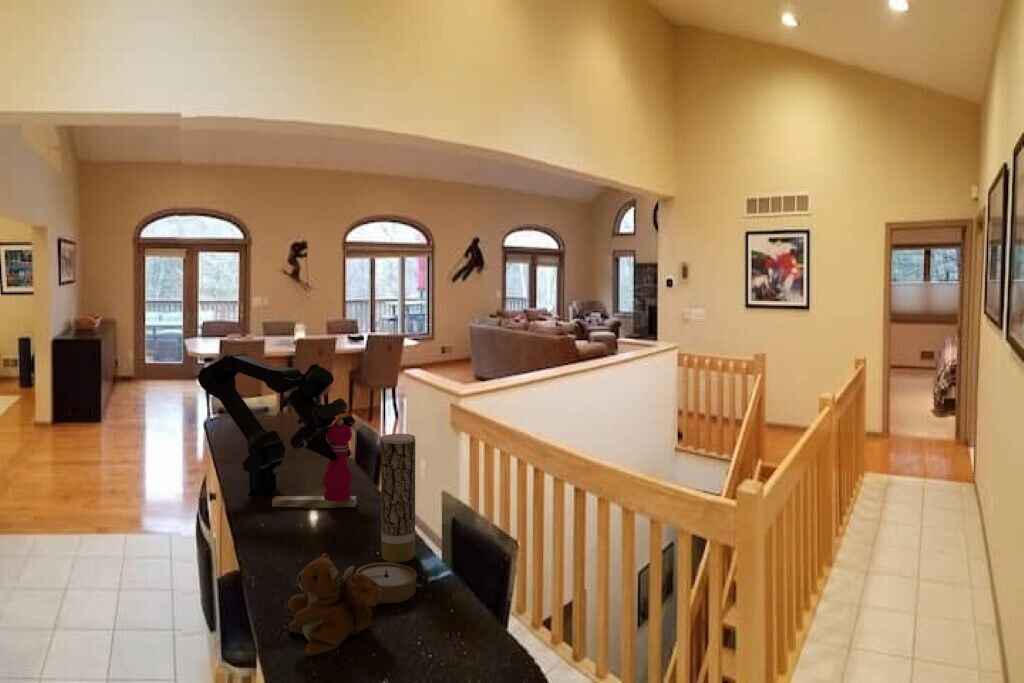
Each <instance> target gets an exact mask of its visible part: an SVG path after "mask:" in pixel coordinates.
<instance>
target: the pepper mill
mask: <svg viewBox="0 0 1024 683" xmlns="http://www.w3.org/2000/svg"><path fill="white" fill-rule="evenodd" d="M335 420H336V421H335V422H336V423H337V424H336V425H333V426H331V427H330V428H329V429H328V432H327V434H326V440H328V443H329V445H330V446H331V448H332V450H333V451H334V453H335V454H336V456H337V458H338V459H337V461H335V462H334V461H332V460H330V459H329V462H328V465H327V467H326V469H325V471H324V474H323V476H322V484H323V487H324V488H326V489H324V492H323V493H324V494H323V496H324V498H325V499H326V500H329V501H344V500H347V499H349V498H350V496H351V490H350V489H349V488H350V487H351V485H352V484H353V474H352V471H351V468H350V466H349V462H348V457H347V451H348V450H349V448H350V443H349V442H350V441H351V439H352V437H353V434H352V429H351V428H349V427H348V426H346V425H344V424H343V422H344V421H343V419H342V418H339V417H338V418H336V419H335Z"/></svg>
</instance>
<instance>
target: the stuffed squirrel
mask: <svg viewBox="0 0 1024 683" xmlns="http://www.w3.org/2000/svg"><path fill="white" fill-rule="evenodd" d="M339 573H340V572H339V569H338V568H337V567H336V566H335V565H334V563H333V562H332V560H330V559H329V555H328V554H327V553H322V554H321V556H320V557H318V558H316V559H313V561H311V562H309V564H307V565H306V566H305V567H304V568H303V569H302V570H301V571H300V572H299V573H298V576H297V578H296V579H295V582H296V583H295V585H294V586H295V587H298V586H299V588H300V590H302V591H303V592H302V593H300V594H299V593H298V594H293V595H292V596H291V597H290V598H289V599H288V600H287V601H288V602H287V607H288V610H290V611H291V612H295V614H294V617H293V618H294V619H293V620H292V621H290V623H289V625H288V630H289V632H291V633H294V634H299V635H304V637H305V638H306V640H307V641H308V643H307V644H306V645H305V649H304V654H305V656H309V657H312V656H317V655H321V654H325V653H327V652H331V651H334V650H335V649H337V648H338V647H339V646H341V644H342V643H343V642H344V641H345V640H346V639H347V637H352V636H356V635H357V634H360V633H361V632H362V631H363V632H364V631H365V630H366V627H368V626H369V625H370V623H371V618H372V617H373V614H374V613H373V611H372V610H373V608H374V607H376V605H378V604H379V603H378V602H380V599H381V598H380V597H381V596H382V595H381V593H380V591H382V589H381V587H380V585H378V583H376V582H375V581H374V580H372V579H370V577H368V576H367V575H364V574H363V575H362V573H358V574H357V575H356V574H353V575H350V576H347V577H346V578H345V579H344V580H342V581H341V582H340V583H338V581H337V580H338V575H339Z"/></svg>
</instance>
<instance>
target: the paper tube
mask: <svg viewBox="0 0 1024 683" xmlns="http://www.w3.org/2000/svg"><path fill="white" fill-rule="evenodd" d="M380 443H381V444H380V461H381V462H380V463H381V464H380V466H381V467H380V469H381V471H380V474H381V475H380V482H381V483H380V486H381V487H380V489H381V490H380V493H381V497H380V503H381V504H380V506H381V507H380V508H381V509H380V511H381V512H380V513H381V514H380V517H381V519H380V520H381V523H380V524H381V525H380V526H381V529H380V530H381V532H380V533H381V535H380V536H381V537H380V538H381V539H380V540H381V558H382V559H383V560H384V561H386V562H387V563H397V564H401V563H406V562H409V561H411V560H412V559H414V557H415V555H416V436H415V435H413V434H410V433H389V434H385V435H383V436H381V440H380Z"/></svg>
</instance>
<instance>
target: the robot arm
mask: <svg viewBox="0 0 1024 683" xmlns="http://www.w3.org/2000/svg"><path fill="white" fill-rule="evenodd" d="M239 374H241V375H242V374H243V375H245V376H247V377H251V378H254V379H256V380H259V381H261V382H263V383H265V385H266V387H267V388H269V389H270V390H271V391H273V392H275V393H277V394H283V393H287V392H290V393H289V394H288V395H285V396H283V397H282V398H283V400H282V403H281V407H282V408H284V409H285V408H289V407H291V409H292V410H293V411H294V412H295V414H296V415H297V417H298V418H299V419H298V420H297V423H298V424H299V425H304V426H302V427H300V428H299V429H298V430H297V431H296V432H295V433H294V434H293V436H291V437H290V445H291V447H292V448H293V450H294V451H295V450H296V451H297V450H299V449H302V448H305V450H309V451H312V452H313V453H317V454H318V455H321V456H323V457H324V458H326V459H328V460H329V461H330V460H332V461H334V462H335V461H337V459H338V458H337V456H336V454H335V453H334V451H333V450H332V448H331V446H330V445H329V444H330V442H329V441H327V440H328V439H327V432H328V429H329V428H330V427H331V426H333V425H336V424H337V423H336V421H335V420H337V418H336V417H337V416H339V415H341V414H342V415H343V414H345V413H346V410H347V409H348V403H346V402H347V401H345V400H344V399H343V398H342V397H340V398H337V399H335V400H333V401H332V402H330V403H328V404H326V405H325V404H324V403H322V404H319V403H318V402H317V400H316V399H318V398H321V396H322V395H323V394H324V393H325V392H326V391H327V390H328V389H329V387H331V385H332V384H333V383H334V381H335V380H334V376H333V374H332V373H331V371H329V370H327V369H326V368H324V367H321V366H320V365H319V364H318V363H313V364H311V365H310V366H309V367H308V369H307V370H306V372H305V373H301V371H300V369H298V368H297V367H289V366H274V365H271V364H268V363H266V362H263V361H260V360H257V359H254V358H251V357H249V356H246V355H244V354H242V353H240V352H237V353H229V354H226V355H225V356H223V357H222V358H220V359H219V360H218V361H215V362H213V363H211V364H210V365H209V364H208V366H206V367H203V368H201V369H200V371H199V374H198V375H197V381H198V384H199V385H200V386H201V388H202V389H203V390H204V391H205V392H206V393H207V394H208V395H211V396H212V397H214V398H216V399H218V400H219V402H220V403H221V404H222V405H223V407H224V409H225V410H226V411H227V414H228V415H229V416H230V418H231V419H232V420H233V422H234V423H235V424H236V427H238V429H239V431H240V432H241V434H242V435H243V436H244V438H245V439H246V441H247V443H246V446H247V450H246V451H247V453H248V456H247V457H246V459H245V460H244V461H243V462H242V467H243V471H245V472H247V473H248V476H249V477H248V481H249V482H248V484H249V490H248V491H247V495H274V493H276V492H277V491H278V489H279V488H278V487H280V483H279V481H280V478H279V475H280V473H279V472H278V471H277V467H280V466H282V463H283V459H284V458H285V453H286V447H285V444H284V439H282V438H281V437H280V435H279V434H278V432H277V431H276V430H270V431H269V430H268V431H267V430H266V429H264V428H263V425H261V423H260V421H259V420H258V419H257V417H256V416H255V414H254V413H253V412H252V410H251V409H250V407H249V406H248V404H247V403H246V402H245V401H244V399H243V397H242V396H241V394H240V393H239V392H238V391H237V390H238V389H237V388H236V386H237V385H236V384H237V383H236V382H237V380H236V378H235V377H236V376H238V375H239ZM338 418H342V419H343V421H344V422H343V424H344V425H346V426H348V427H349V428H350V429H351V428H352V427H353V425H355V424H356V419H355V418H354V417H353V415H349V414H347V415H344V416H340V417H338ZM304 441H306V442H305V443H306V444H307V445H305V443H304ZM351 455H352V451H351V448H350V447H349V450H348V451H347V458H349V457H351Z"/></svg>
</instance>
